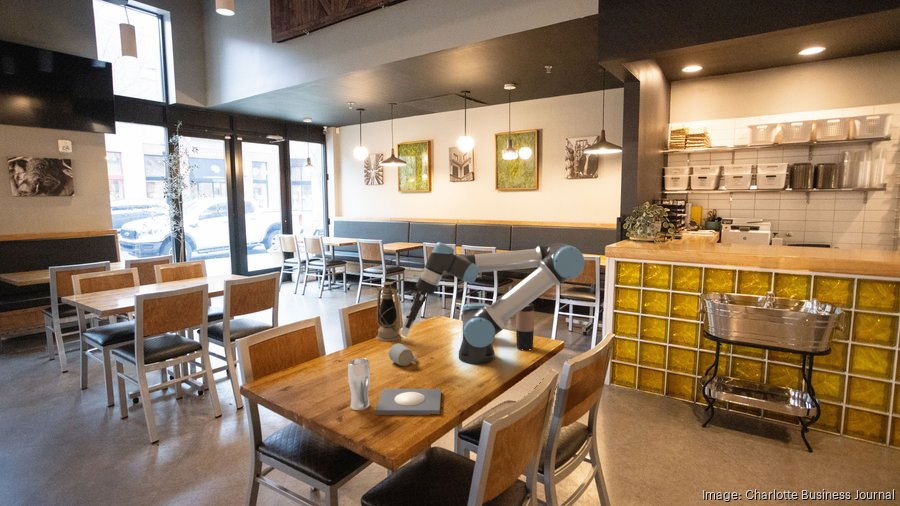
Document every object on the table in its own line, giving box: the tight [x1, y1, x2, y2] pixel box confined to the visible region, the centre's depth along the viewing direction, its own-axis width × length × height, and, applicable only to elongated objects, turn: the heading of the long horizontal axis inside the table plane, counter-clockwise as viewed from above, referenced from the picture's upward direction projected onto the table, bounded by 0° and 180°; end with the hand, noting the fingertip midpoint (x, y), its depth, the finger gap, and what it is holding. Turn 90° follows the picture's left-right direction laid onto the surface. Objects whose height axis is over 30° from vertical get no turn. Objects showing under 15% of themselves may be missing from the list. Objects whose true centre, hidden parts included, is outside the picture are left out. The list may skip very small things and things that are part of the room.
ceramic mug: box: [388, 342, 418, 367], centre depth 188 cm, size 11×8×8 cm
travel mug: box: [515, 302, 535, 351], centre depth 205 cm, size 8×8×20 cm
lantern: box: [375, 275, 402, 343], centre depth 221 cm, size 14×12×30 cm
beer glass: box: [347, 357, 371, 411], centre depth 149 cm, size 7×7×15 cm
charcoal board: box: [374, 388, 442, 416], centre depth 152 cm, size 20×16×2 cm
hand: (404, 331), depth 177 cm, fingers open, 13 cm apart
